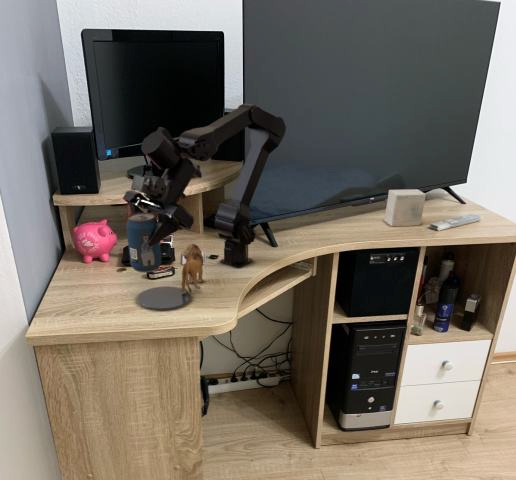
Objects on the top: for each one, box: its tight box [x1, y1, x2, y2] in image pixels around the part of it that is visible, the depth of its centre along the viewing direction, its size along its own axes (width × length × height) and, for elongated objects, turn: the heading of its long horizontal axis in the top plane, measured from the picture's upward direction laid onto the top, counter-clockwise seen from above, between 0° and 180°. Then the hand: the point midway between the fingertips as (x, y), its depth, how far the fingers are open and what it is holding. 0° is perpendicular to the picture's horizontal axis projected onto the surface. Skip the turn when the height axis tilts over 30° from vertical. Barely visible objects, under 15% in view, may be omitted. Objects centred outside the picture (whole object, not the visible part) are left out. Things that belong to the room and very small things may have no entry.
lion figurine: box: [180, 243, 205, 294], centre depth 129 cm, size 15×5×9 cm, turn 4°
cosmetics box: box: [383, 188, 427, 227], centre depth 177 cm, size 10×6×10 cm, turn 101°
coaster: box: [137, 285, 191, 312], centre depth 125 cm, size 12×12×1 cm
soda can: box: [125, 212, 162, 274], centre depth 121 cm, size 7×7×12 cm
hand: (138, 241), depth 119 cm, fingers closed on soda can, 7 cm apart
